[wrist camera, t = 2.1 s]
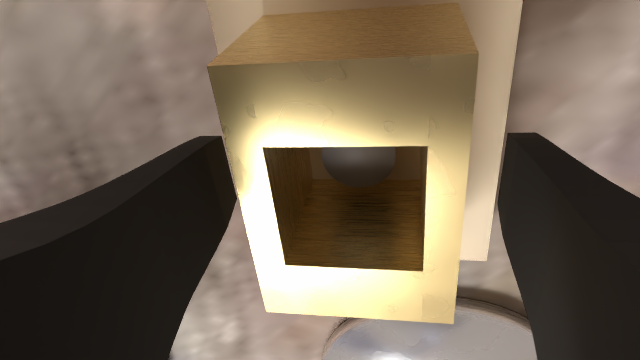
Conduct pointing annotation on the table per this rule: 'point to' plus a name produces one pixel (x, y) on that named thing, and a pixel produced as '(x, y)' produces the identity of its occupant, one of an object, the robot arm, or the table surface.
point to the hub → (437, 337)
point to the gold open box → (352, 131)
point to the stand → (404, 161)
